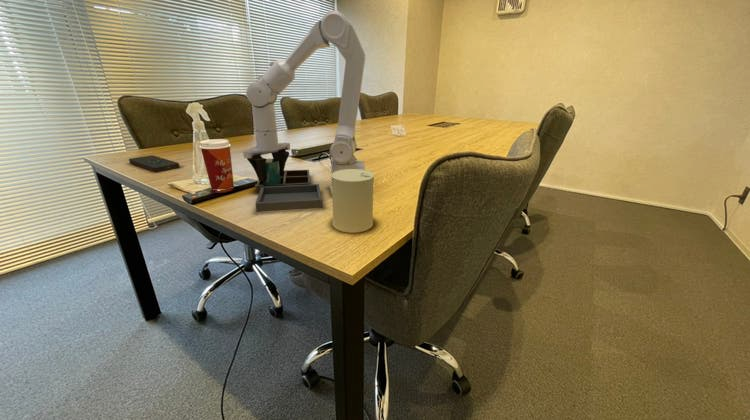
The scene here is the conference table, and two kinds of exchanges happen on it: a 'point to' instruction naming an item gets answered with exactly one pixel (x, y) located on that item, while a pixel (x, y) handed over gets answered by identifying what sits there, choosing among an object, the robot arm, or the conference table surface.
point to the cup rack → (290, 179)
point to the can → (352, 200)
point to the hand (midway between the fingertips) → (271, 178)
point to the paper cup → (218, 163)
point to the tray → (289, 197)
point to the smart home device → (154, 163)
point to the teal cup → (272, 172)
